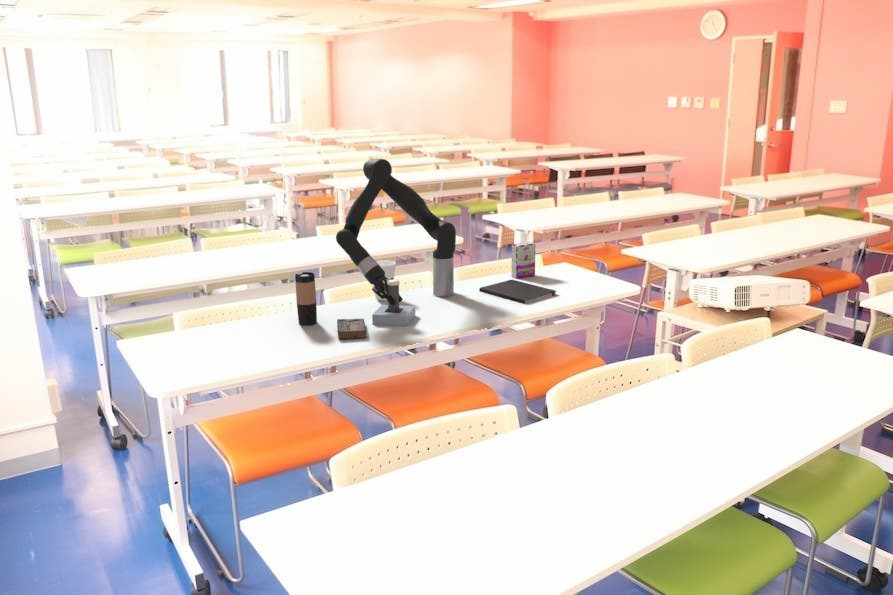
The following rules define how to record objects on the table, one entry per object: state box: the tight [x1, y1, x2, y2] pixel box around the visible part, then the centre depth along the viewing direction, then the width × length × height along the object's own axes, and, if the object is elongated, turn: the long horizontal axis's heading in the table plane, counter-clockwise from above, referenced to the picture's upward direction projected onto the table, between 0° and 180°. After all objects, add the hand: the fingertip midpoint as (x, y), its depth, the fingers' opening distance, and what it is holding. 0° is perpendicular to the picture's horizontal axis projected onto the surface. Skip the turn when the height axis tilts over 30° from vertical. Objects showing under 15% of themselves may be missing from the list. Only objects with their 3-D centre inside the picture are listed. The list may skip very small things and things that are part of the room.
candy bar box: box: [511, 241, 536, 280], centre depth 359 cm, size 11×5×16 cm, turn 119°
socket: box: [371, 303, 416, 327], centre depth 296 cm, size 14×14×4 cm
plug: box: [387, 279, 400, 313], centre depth 294 cm, size 5×5×15 cm
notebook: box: [478, 279, 557, 305], centre depth 333 cm, size 22×2×28 cm
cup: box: [372, 259, 396, 301], centre depth 324 cm, size 12×12×16 cm
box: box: [336, 318, 367, 340], centre depth 282 cm, size 11×17×3 cm, turn 9°
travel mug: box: [294, 271, 318, 327], centre depth 291 cm, size 8×8×20 cm
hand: (397, 302), depth 294 cm, fingers closed on plug, 4 cm apart
